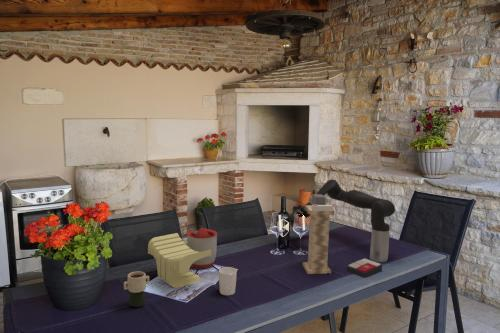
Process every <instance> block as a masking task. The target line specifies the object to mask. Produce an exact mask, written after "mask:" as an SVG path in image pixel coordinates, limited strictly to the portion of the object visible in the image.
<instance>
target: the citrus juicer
mask: <svg viewBox="0 0 500 333" xmlns="http://www.w3.org/2000/svg"><path fill="white" fill-rule="evenodd" d="M186 236H187V237H186V238H187V239H186V242H187V243H186V245H187V246H188V247H189V248H190V249H192V250H194V251H195V252H196V251H197V252H202V251H206V250H211V256H207V257H204V258H201V259H199V260H197V261H195V262H194V263H192V265H191V266H190V267H192V266H193V267H192V268H195V269H198V268H200V269H208V268H210V267H212V266H214V263H215V262H216V261H215V260H216V256H217V248H218V245H217V242H218V241H217V240H218V232H217V230H214V229H211V228H210V229H209V228H204V227H203V226H202V227H200V228H199V229H198V230H197V231H196V233H195V232H194V231H193V230H191V229H190V230H188V231H187V232H186Z"/></svg>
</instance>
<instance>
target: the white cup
mask: <svg viewBox="0 0 500 333" xmlns="http://www.w3.org/2000/svg"><path fill="white" fill-rule="evenodd" d="M237 272H238V270H237V268H234V267H231V266H225V267H221V268H219V269H218V283H219V284H218V285H219V293H220V295H223V296H233V295H234V294H235V293H236V286H237V285H236V284H237V276H238V275H237Z"/></svg>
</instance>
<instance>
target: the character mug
mask: <svg viewBox="0 0 500 333" xmlns="http://www.w3.org/2000/svg"><path fill="white" fill-rule="evenodd" d="M148 284H150V275H146V273H145V272H144V271H138V270H136V271H132V272H129V273H128V274H127V281H124V282H123V290H128V292H130V293H129V300H128V305H129V306H131V307H134V308H140V307H142V306H144V305H145V304H146V298H145V293H144V292H145V290H146V288H147V285H148Z"/></svg>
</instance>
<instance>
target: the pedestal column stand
mask: <svg viewBox="0 0 500 333" xmlns="http://www.w3.org/2000/svg"><path fill="white" fill-rule="evenodd" d="M303 206H304V209H305V210H306V211H307V212H308V213H309V214H310V216H309V229H308V232H309V233H308V250H307V252H308V253H307V261H302V262H301V265H302V267H303V269H304V270H305V272H306V274H307V275H316V274H317V275H318V274H319V275H322V274H323V275H324V274H326V275H327V273H329V274H332V269H331V268H330V267H329V266H328V258H329V256H328V254H329V241H330V240H329V238H330V222H331V221H330V220H331V219H330V218H331V216H335V210H334V209H333V211H312V210H311V209H312V205H306V204H305V205H303Z"/></svg>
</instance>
